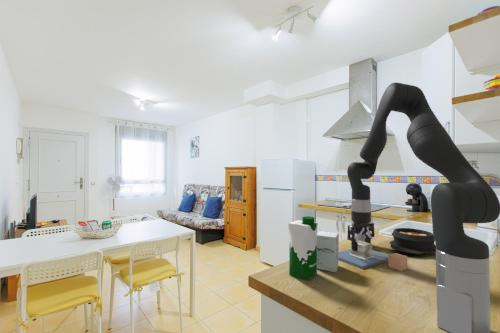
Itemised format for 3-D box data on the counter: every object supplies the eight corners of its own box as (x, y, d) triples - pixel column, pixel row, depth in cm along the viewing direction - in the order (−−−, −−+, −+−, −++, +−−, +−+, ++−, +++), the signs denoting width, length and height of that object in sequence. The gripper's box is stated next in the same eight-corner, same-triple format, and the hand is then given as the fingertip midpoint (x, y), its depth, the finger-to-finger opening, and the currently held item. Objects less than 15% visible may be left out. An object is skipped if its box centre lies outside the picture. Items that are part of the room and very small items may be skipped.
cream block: (364, 258, 96) (364, 246, 96) (351, 254, 101) (351, 242, 101) (371, 256, 98) (371, 244, 98) (358, 252, 103) (358, 240, 103)
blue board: (362, 269, 88) (362, 266, 88) (330, 256, 101) (330, 253, 101) (393, 259, 98) (393, 256, 98) (360, 249, 111) (360, 246, 111)
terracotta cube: (400, 271, 87) (400, 258, 87) (388, 266, 90) (388, 254, 91) (407, 268, 89) (407, 256, 89) (395, 264, 93) (394, 252, 93)
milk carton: (309, 282, 77) (309, 220, 78) (285, 274, 83) (285, 217, 84) (320, 273, 84) (320, 216, 85) (297, 267, 90) (297, 213, 90)
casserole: (428, 262, 95) (428, 241, 95) (379, 250, 109) (379, 231, 110) (446, 249, 110) (445, 231, 111) (401, 240, 125) (400, 224, 125)
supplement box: (315, 269, 88) (314, 234, 88) (319, 262, 95) (319, 230, 95) (336, 273, 85) (336, 237, 85) (339, 265, 91) (338, 232, 91)
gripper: (357, 212, 93) (358, 254, 93) (380, 210, 100) (380, 249, 100) (342, 210, 100) (342, 249, 99) (363, 207, 107) (364, 244, 106)
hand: (361, 249), depth 100 cm, fingers open, 8 cm apart
